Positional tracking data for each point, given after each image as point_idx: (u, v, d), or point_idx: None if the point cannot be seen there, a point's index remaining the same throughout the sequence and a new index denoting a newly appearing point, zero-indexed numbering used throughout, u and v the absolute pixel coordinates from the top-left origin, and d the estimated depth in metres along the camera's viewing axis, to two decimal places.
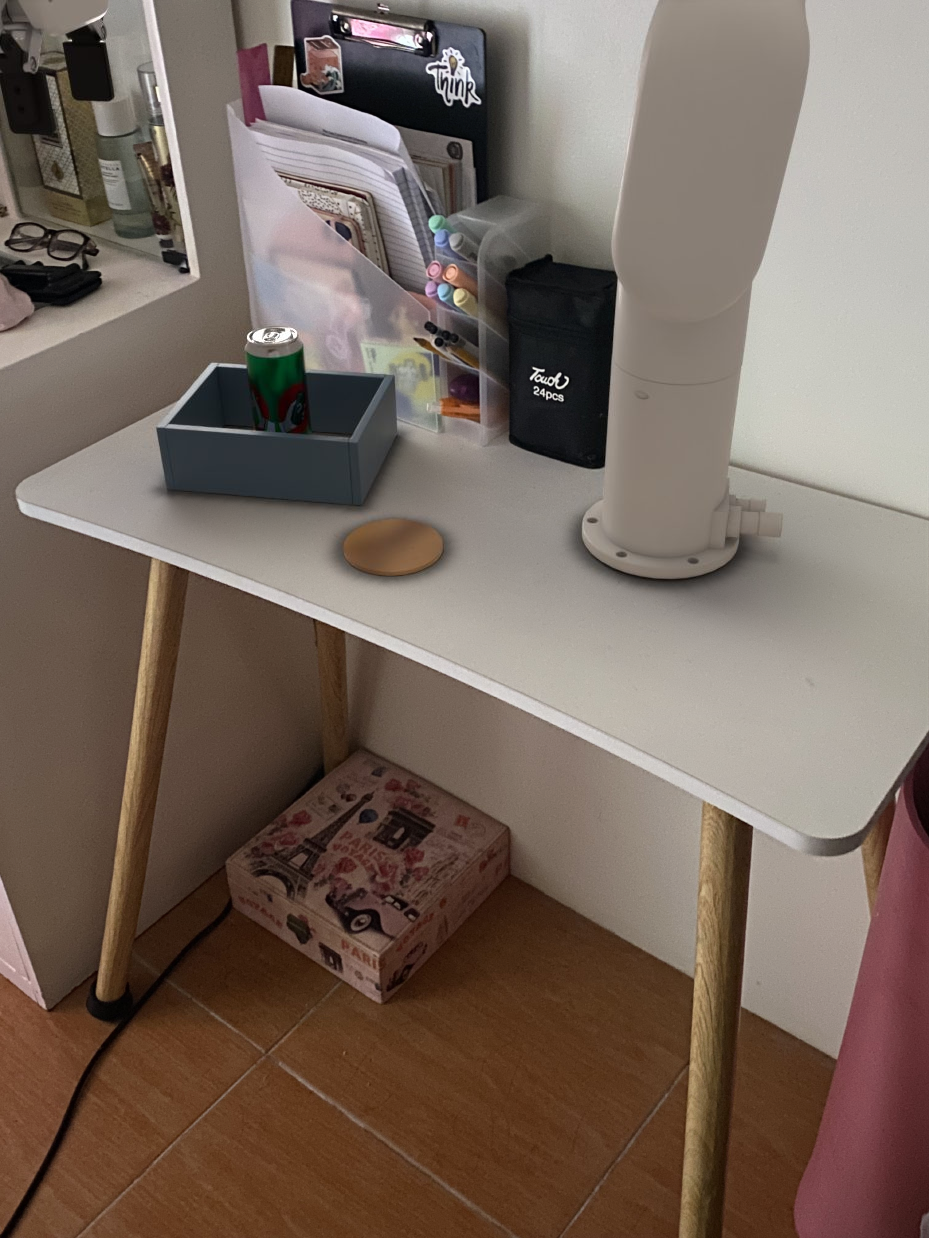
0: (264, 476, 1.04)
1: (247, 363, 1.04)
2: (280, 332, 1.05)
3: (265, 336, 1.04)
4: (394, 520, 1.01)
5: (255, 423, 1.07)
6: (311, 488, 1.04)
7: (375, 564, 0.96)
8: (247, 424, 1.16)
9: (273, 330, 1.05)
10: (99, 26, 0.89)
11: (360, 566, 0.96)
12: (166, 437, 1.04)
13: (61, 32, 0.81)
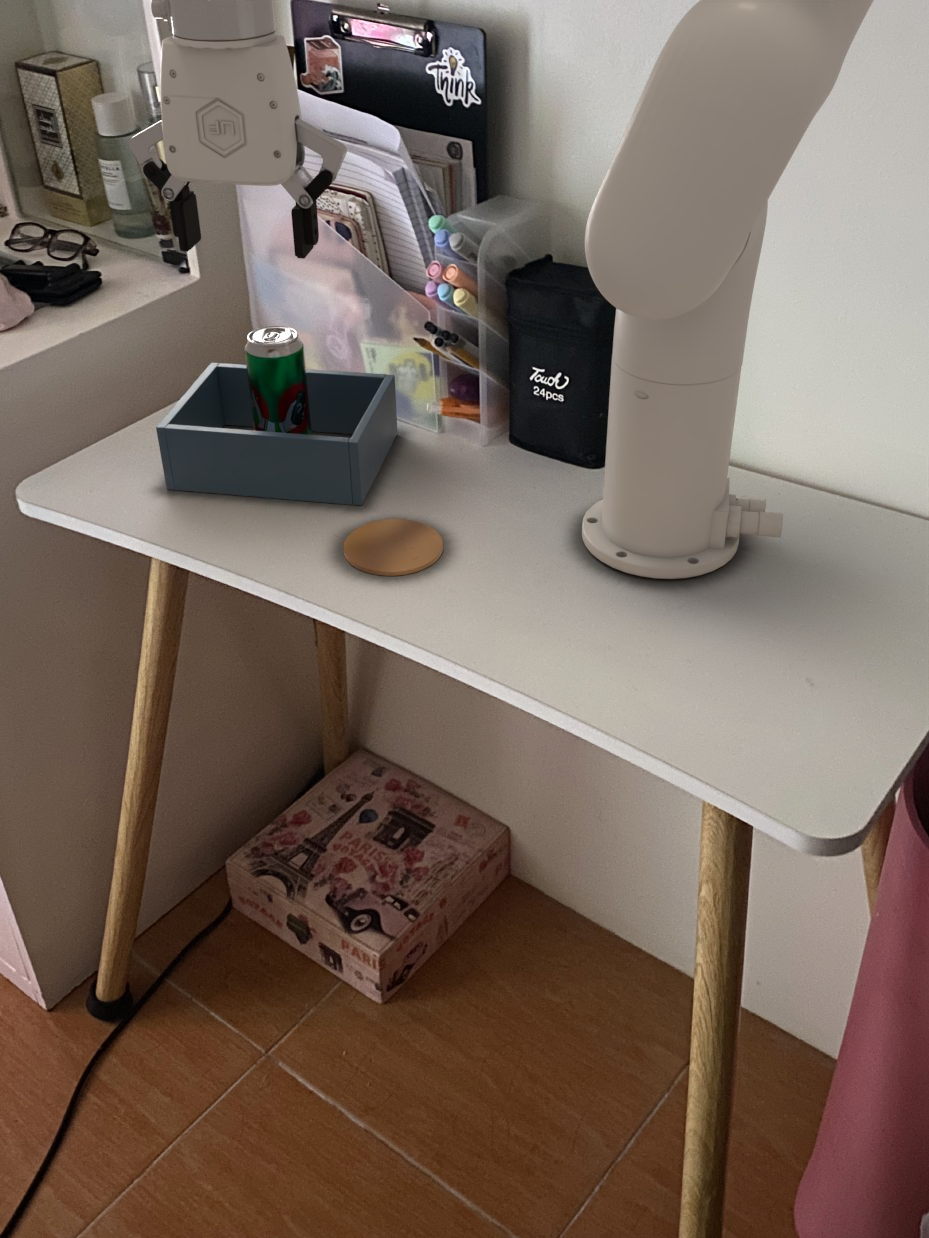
0: (264, 476, 1.04)
1: (247, 363, 1.04)
2: (280, 332, 1.05)
3: (265, 336, 1.04)
4: (394, 520, 1.01)
5: (255, 423, 1.07)
6: (311, 488, 1.04)
7: (375, 564, 0.96)
8: (247, 424, 1.16)
9: (273, 330, 1.05)
10: (298, 194, 0.94)
11: (360, 566, 0.96)
12: (166, 437, 1.04)
13: (186, 179, 0.94)
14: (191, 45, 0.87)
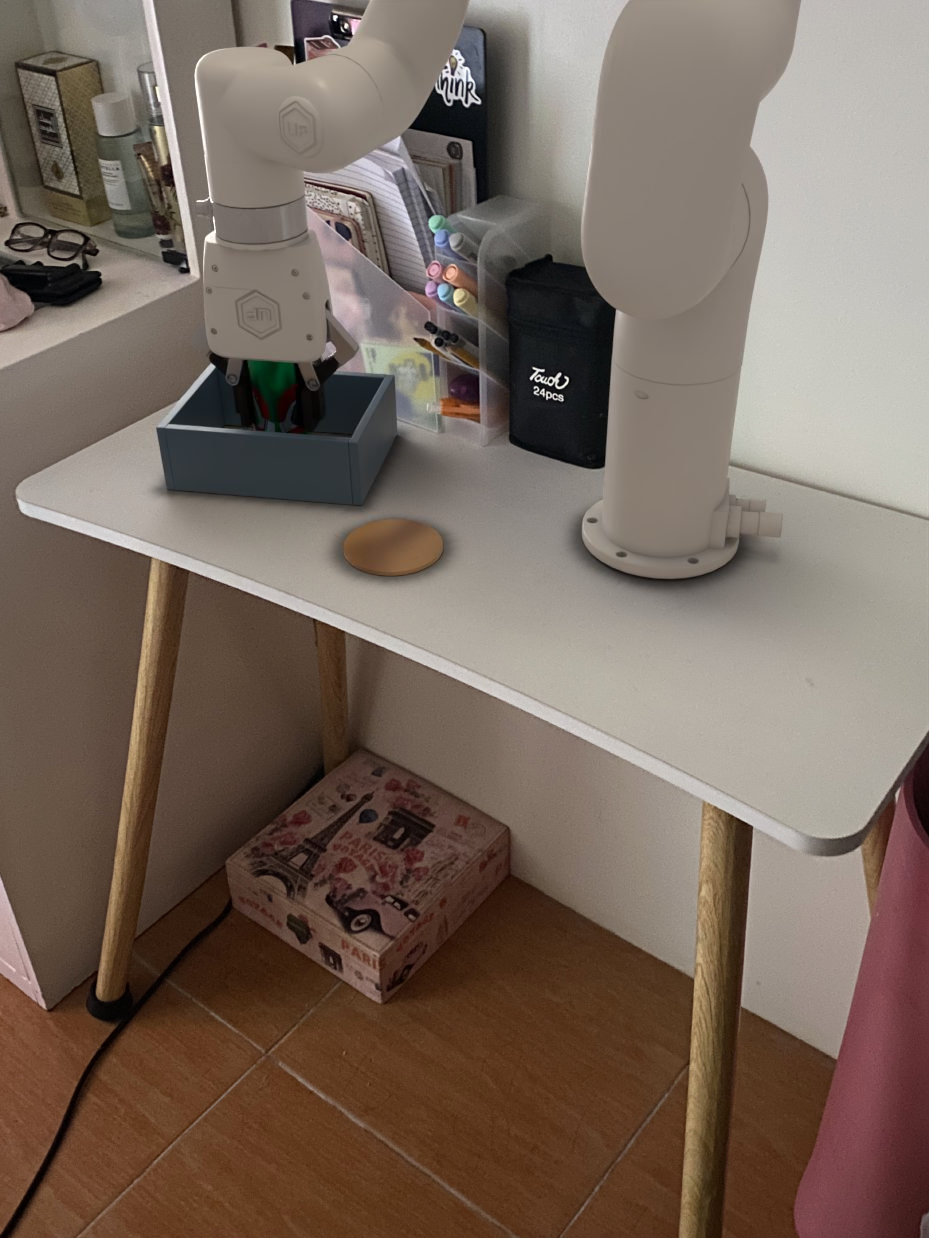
0: (264, 476, 1.04)
1: (247, 363, 1.04)
2: None
3: None
4: (394, 520, 1.01)
5: (255, 423, 1.07)
6: (311, 488, 1.04)
7: (375, 564, 0.96)
8: None
9: None
10: (306, 379, 1.04)
11: (360, 566, 0.96)
12: (166, 437, 1.04)
13: (225, 356, 1.03)
14: (232, 247, 0.96)
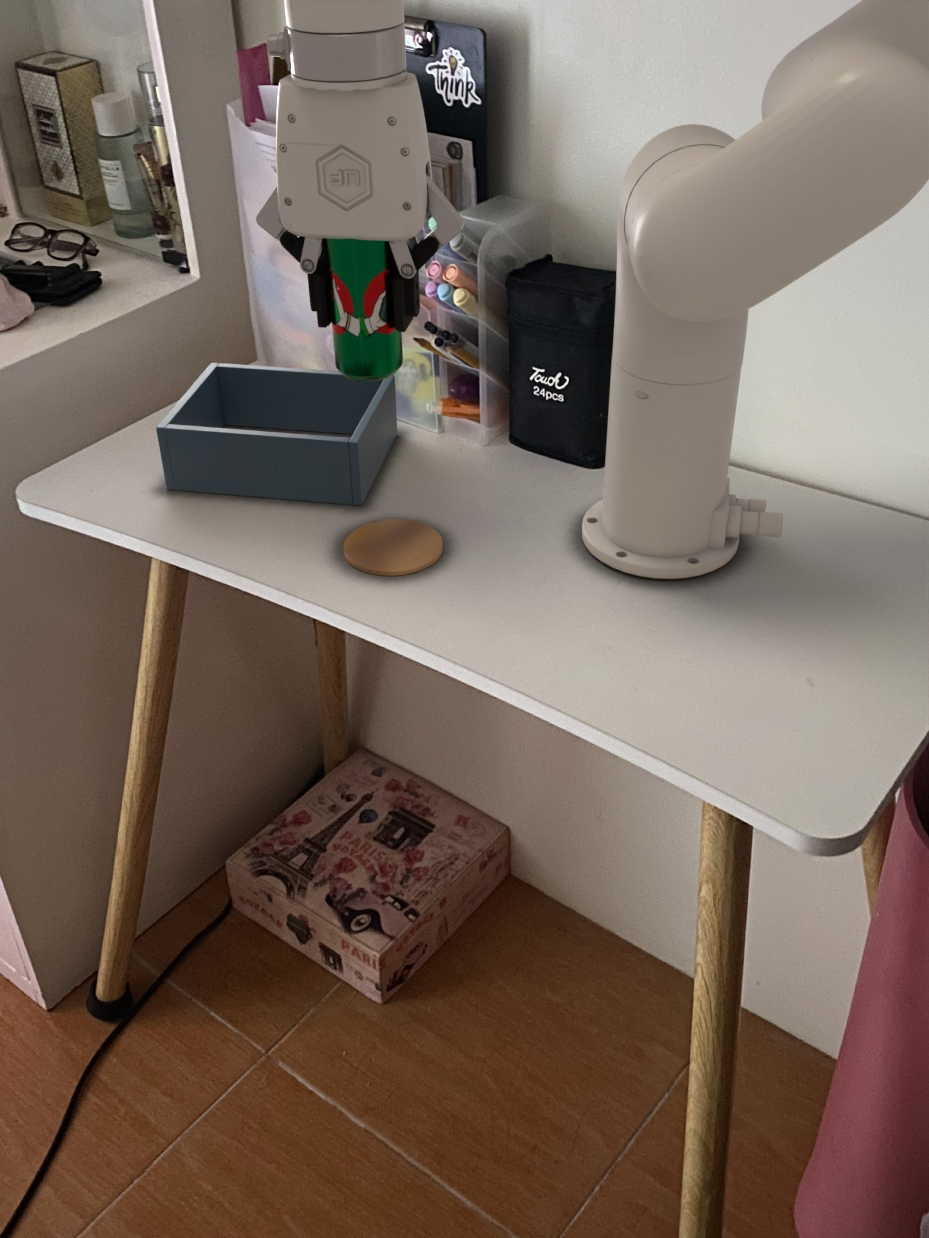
0: (264, 476, 1.04)
1: (327, 244, 0.85)
2: None
3: None
4: (394, 520, 1.01)
5: (335, 321, 0.88)
6: (311, 488, 1.04)
7: (375, 564, 0.96)
8: (247, 424, 1.16)
9: None
10: (400, 263, 0.85)
11: (360, 566, 0.96)
12: (166, 437, 1.04)
13: (302, 234, 0.84)
14: (315, 87, 0.77)
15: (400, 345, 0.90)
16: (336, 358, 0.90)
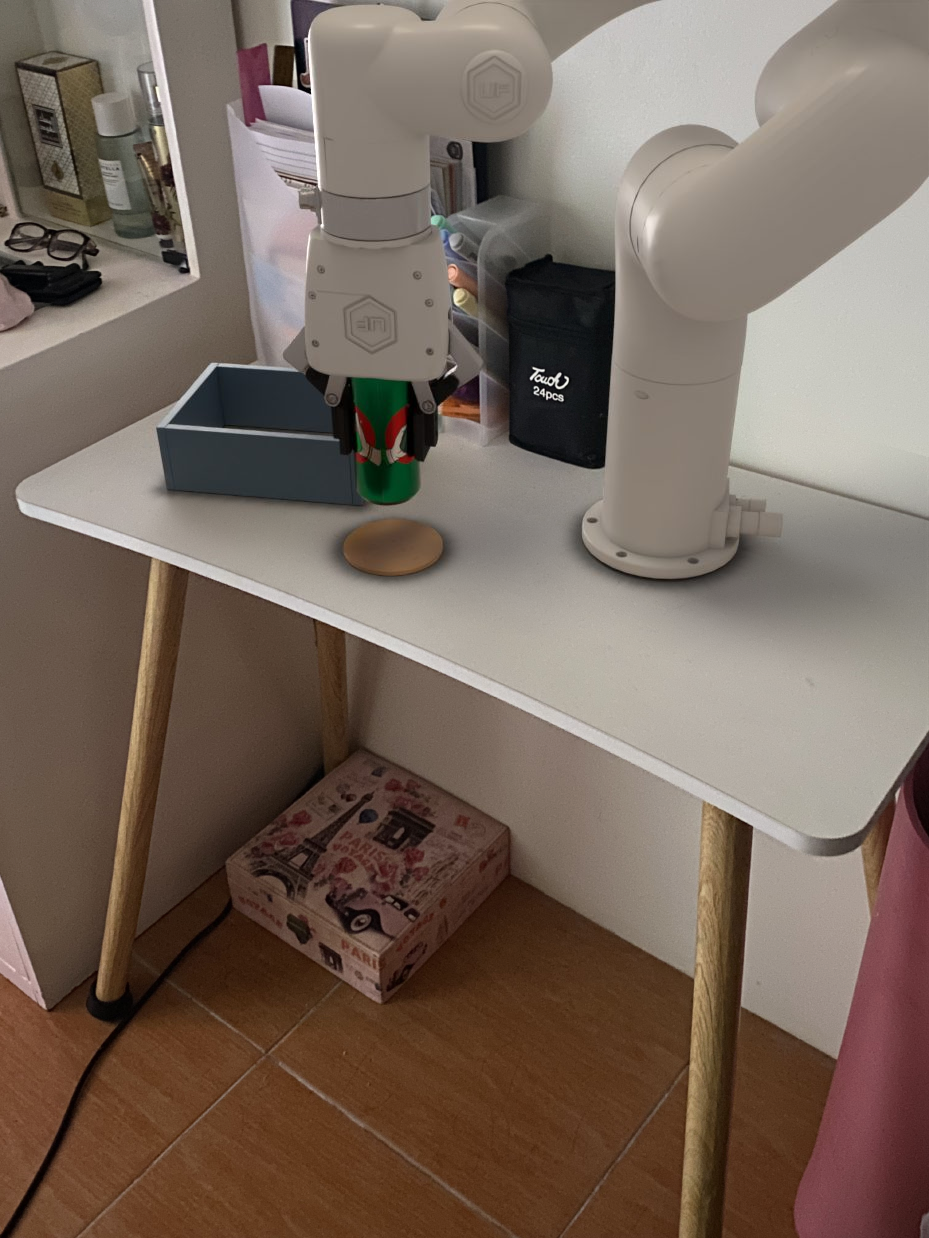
0: (264, 476, 1.04)
1: (351, 381, 0.89)
2: None
3: None
4: (394, 520, 1.01)
5: (356, 450, 0.92)
6: (311, 488, 1.04)
7: (375, 564, 0.96)
8: (247, 424, 1.16)
9: None
10: (421, 399, 0.89)
11: (360, 566, 0.96)
12: (166, 437, 1.04)
13: (327, 373, 0.88)
14: (345, 244, 0.81)
15: (418, 471, 0.94)
16: (357, 483, 0.94)
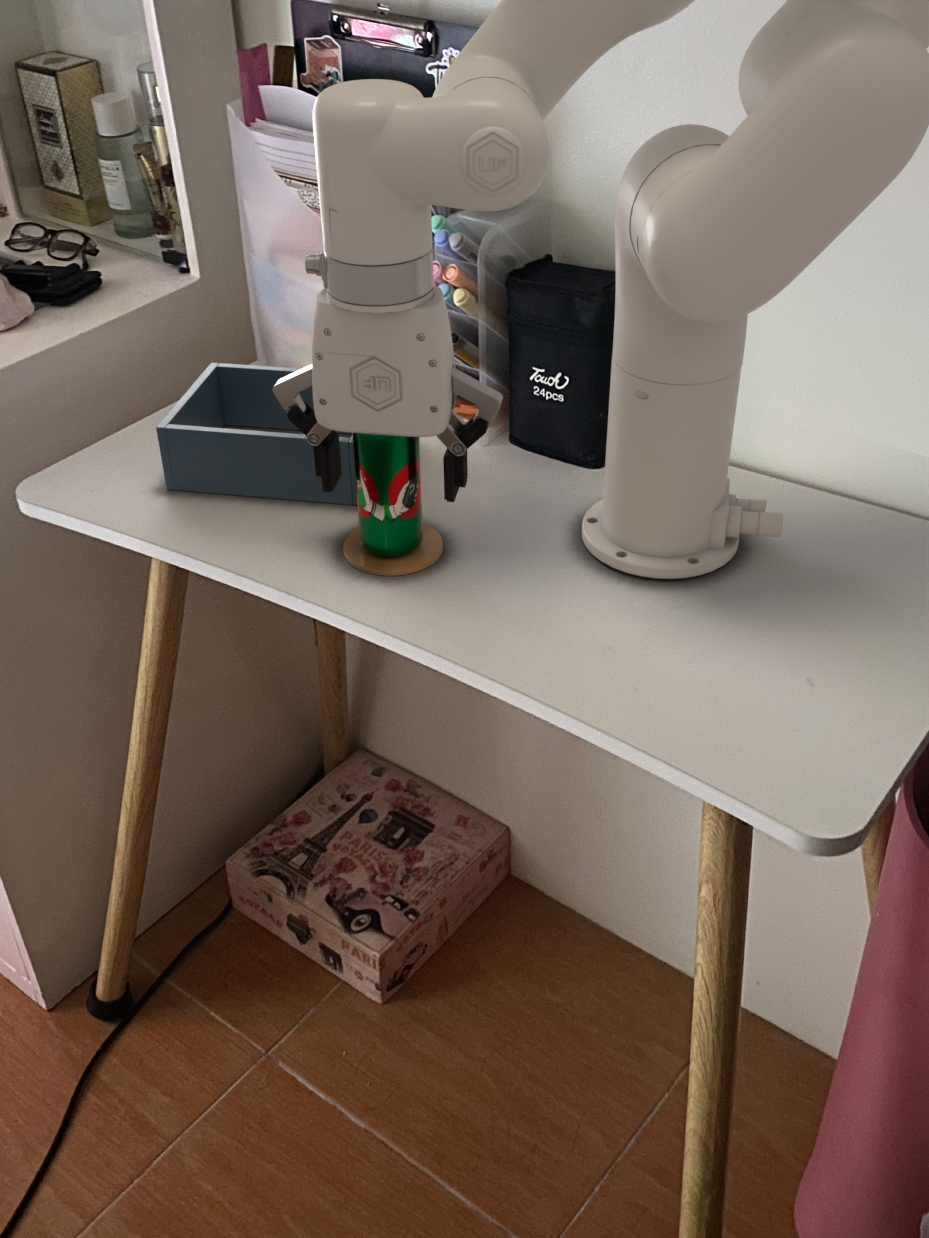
0: (264, 476, 1.04)
1: (355, 440, 0.91)
2: None
3: None
4: None
5: (360, 505, 0.95)
6: (311, 488, 1.04)
7: (375, 564, 0.96)
8: (247, 424, 1.16)
9: None
10: (451, 442, 0.90)
11: (360, 566, 0.96)
12: (166, 437, 1.04)
13: (335, 429, 0.90)
14: (350, 309, 0.83)
15: (421, 524, 0.96)
16: (361, 536, 0.96)
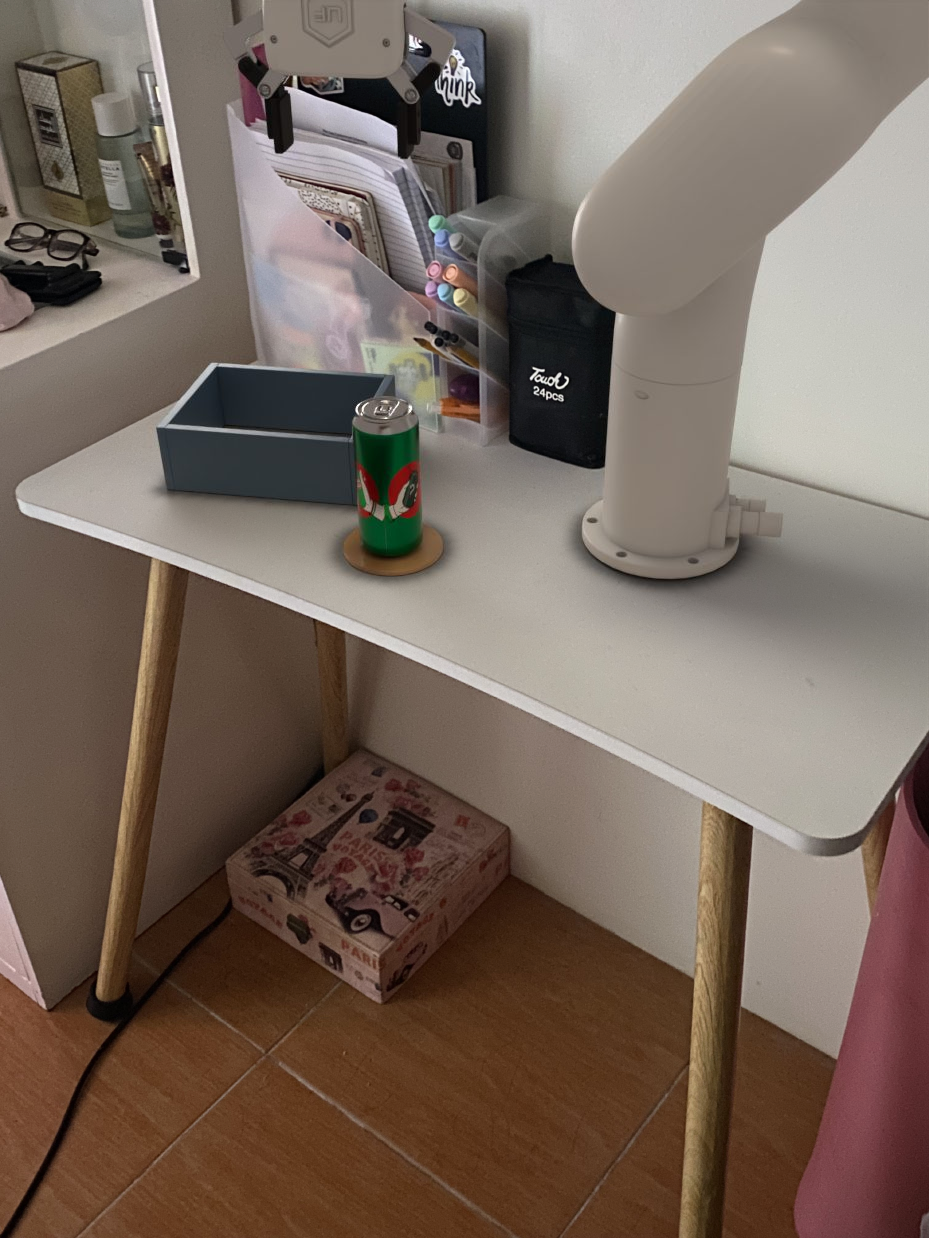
0: (264, 476, 1.04)
1: (355, 440, 0.91)
2: (391, 404, 0.92)
3: (376, 409, 0.91)
4: None
5: (360, 505, 0.95)
6: (311, 488, 1.04)
7: (375, 564, 0.96)
8: (247, 424, 1.16)
9: (383, 401, 0.93)
10: (404, 88, 0.90)
11: (360, 566, 0.96)
12: (166, 437, 1.04)
13: (286, 72, 0.89)
14: None
15: (421, 524, 0.96)
16: (361, 536, 0.96)
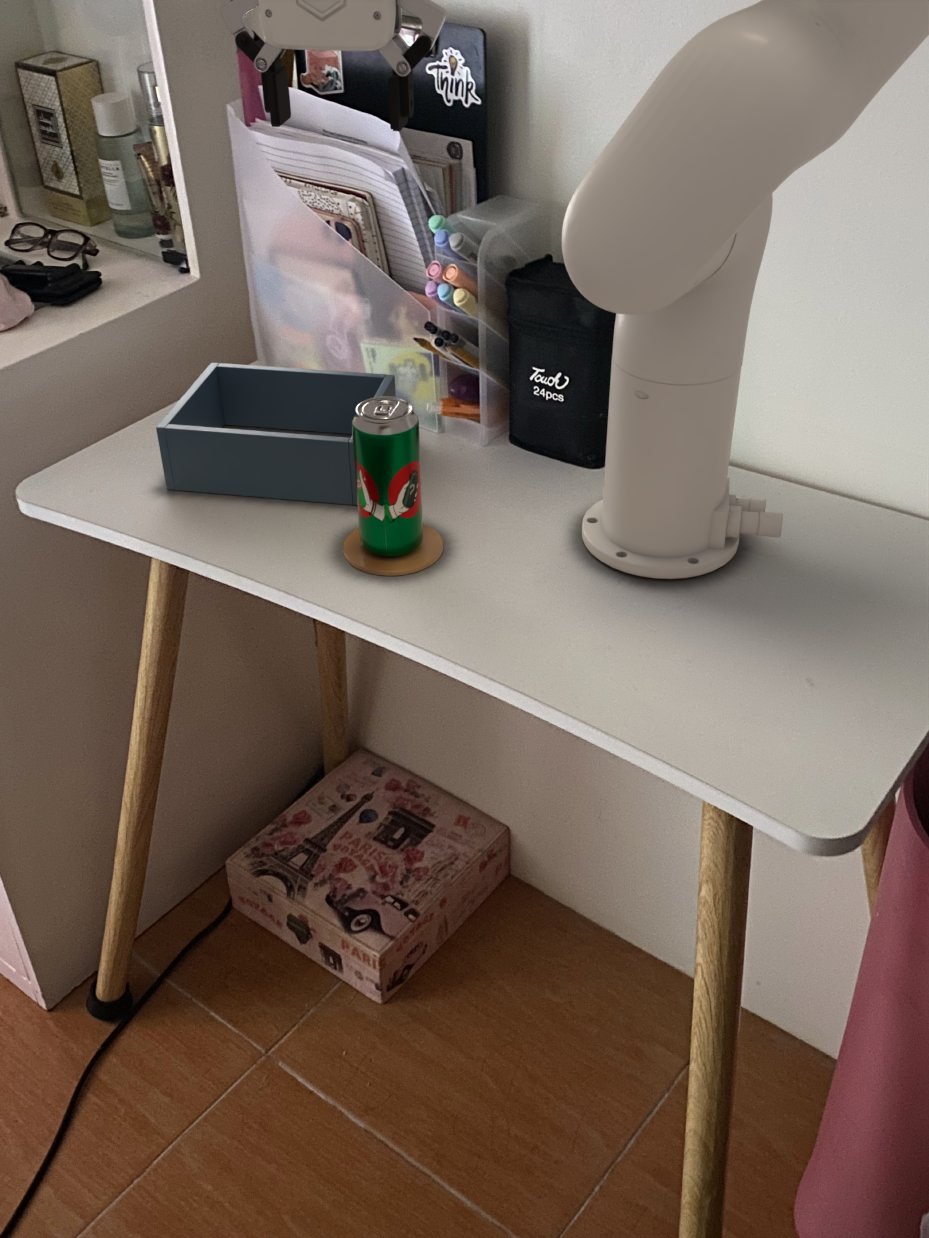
0: (264, 476, 1.04)
1: (355, 440, 0.91)
2: (391, 404, 0.92)
3: (376, 409, 0.91)
4: None
5: (360, 505, 0.95)
6: (311, 488, 1.04)
7: (375, 564, 0.96)
8: (247, 424, 1.16)
9: (383, 401, 0.93)
10: (395, 61, 0.92)
11: (360, 566, 0.96)
12: (166, 437, 1.04)
13: (281, 46, 0.92)
14: None
15: (421, 524, 0.96)
16: (361, 536, 0.96)
